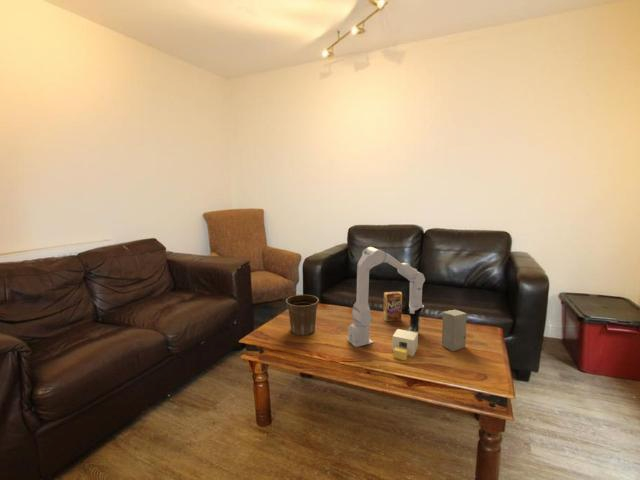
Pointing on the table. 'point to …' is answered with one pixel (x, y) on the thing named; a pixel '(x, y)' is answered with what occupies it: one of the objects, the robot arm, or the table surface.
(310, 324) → the plant pot
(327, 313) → the table surface
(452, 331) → the skincare box
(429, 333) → the table surface
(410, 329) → the shaft
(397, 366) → the table surface
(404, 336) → the bearing block
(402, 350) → the block
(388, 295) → the candy box
